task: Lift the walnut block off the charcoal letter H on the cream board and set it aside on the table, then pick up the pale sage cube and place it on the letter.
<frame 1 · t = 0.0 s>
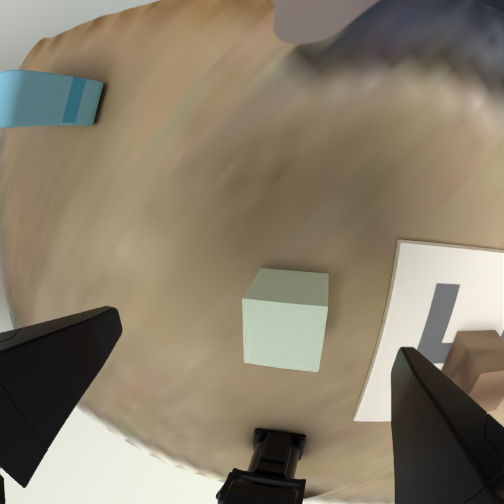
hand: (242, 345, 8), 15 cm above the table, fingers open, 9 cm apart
sage cube: (292, 300, 23), on the table
walnut block: (468, 352, 19), point 1 cm above the table, touching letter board
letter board: (465, 346, 20), on the table
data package: (72, 101, 23), on the table
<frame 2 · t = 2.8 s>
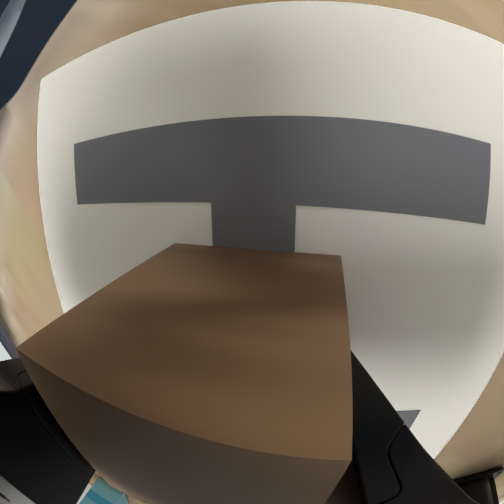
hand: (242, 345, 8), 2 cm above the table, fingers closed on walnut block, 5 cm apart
walnut block: (252, 323, 9), point 1 cm above the table, touching gripper, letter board
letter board: (259, 307, 10), on the table
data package: (116, 490, 29), on the table
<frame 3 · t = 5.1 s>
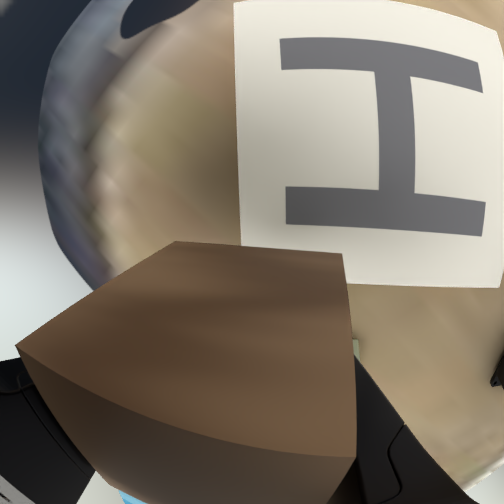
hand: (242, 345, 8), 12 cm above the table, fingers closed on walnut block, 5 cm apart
walnut block: (253, 321, 9), point 11 cm above the table, touching gripper
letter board: (393, 132, 15), on the table
when the fingers open (3 cm above the table, at t = 7.9 s): walnut block drops 2 cm, on the table.
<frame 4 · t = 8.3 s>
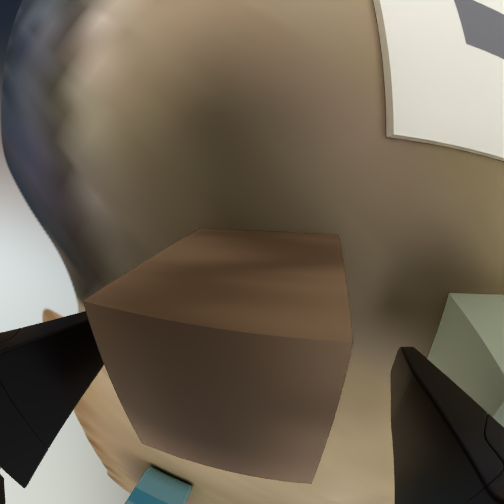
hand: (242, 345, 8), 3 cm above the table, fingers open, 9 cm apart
sage cube: (477, 348, 9), on the table
walnut block: (266, 295, 11), on the table
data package: (169, 485, 21), on the table
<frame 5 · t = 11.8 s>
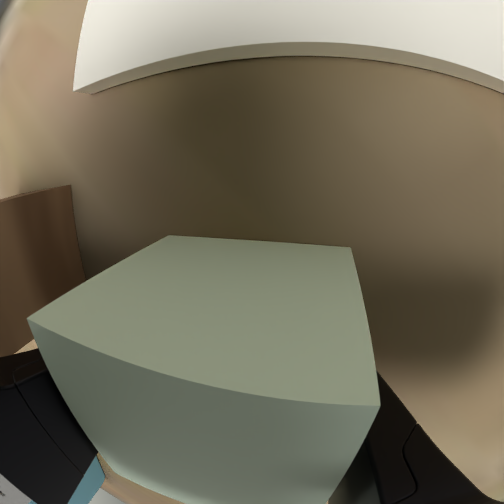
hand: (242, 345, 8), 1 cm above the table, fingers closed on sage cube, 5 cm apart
sage cube: (253, 322, 9), on the table, touching gripper
walnut block: (48, 242, 11), on the table
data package: (86, 453, 22), on the table
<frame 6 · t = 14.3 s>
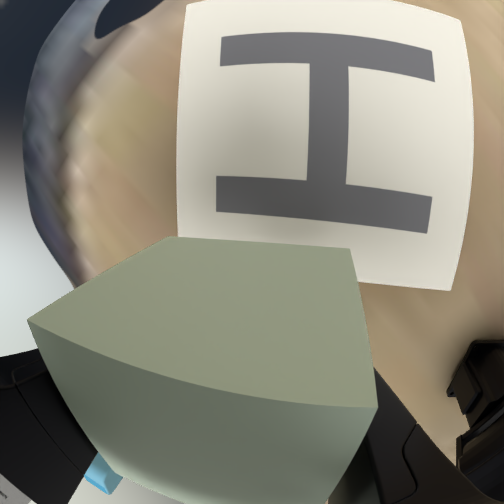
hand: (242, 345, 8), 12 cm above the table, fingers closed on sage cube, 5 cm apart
sage cube: (252, 323, 9), point 11 cm above the table, touching gripper
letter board: (328, 123, 16), on the table
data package: (131, 431, 35), on the table
when the fingers open (3 cm above the table, at t = 16.8 s): sage cube drops 1 cm, resting on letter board.
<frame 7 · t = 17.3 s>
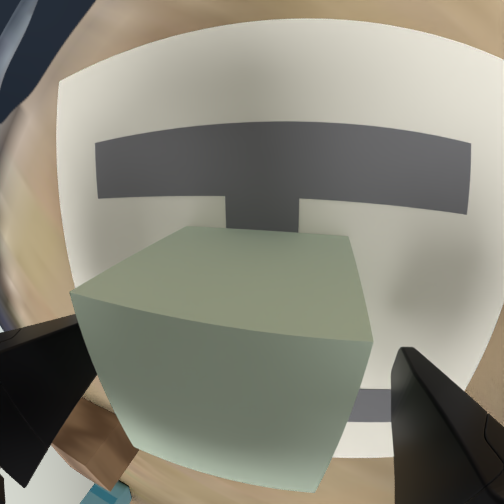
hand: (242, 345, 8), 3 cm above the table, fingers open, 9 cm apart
sage cube: (262, 305, 10), point 1 cm above the table, touching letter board
walnut block: (110, 423, 19), on the table
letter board: (266, 291, 11), on the table
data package: (119, 485, 30), on the table
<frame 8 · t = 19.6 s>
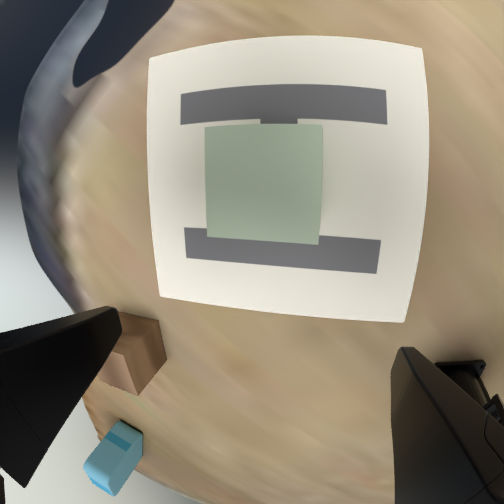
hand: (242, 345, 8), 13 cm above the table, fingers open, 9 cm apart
sage cube: (279, 176, 18), point 1 cm above the table, touching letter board
walnut block: (143, 336, 27), on the table
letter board: (281, 174, 19), on the table
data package: (132, 437, 38), on the table
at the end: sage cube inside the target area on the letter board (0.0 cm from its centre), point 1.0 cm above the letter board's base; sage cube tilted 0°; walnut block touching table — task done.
